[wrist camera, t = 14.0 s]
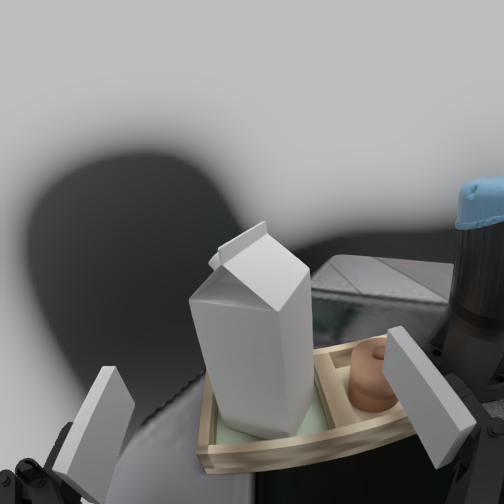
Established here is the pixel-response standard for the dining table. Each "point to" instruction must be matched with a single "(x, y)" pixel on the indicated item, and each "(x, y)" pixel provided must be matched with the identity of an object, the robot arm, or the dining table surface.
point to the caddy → (315, 416)
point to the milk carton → (257, 335)
